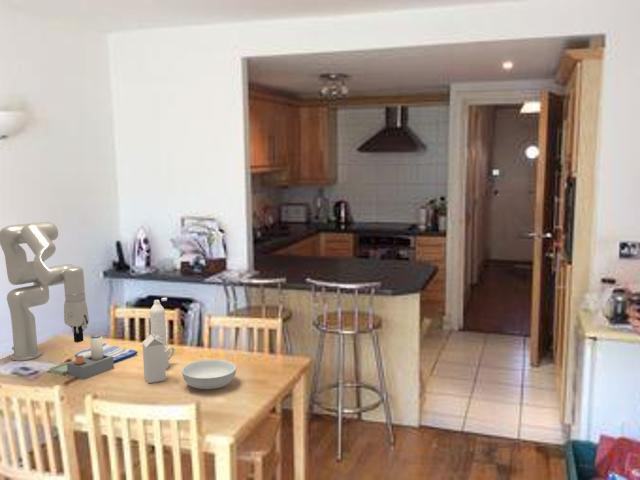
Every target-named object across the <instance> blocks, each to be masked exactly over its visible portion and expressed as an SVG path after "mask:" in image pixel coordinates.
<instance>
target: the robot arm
mask: <svg viewBox="0 0 640 480" xmlns="http://www.w3.org/2000/svg"><path fill="white" fill-rule="evenodd" d="M58 236H59V230H58V227H57V226H56V225H55V223H53V222H51V221H43V222H34V223H33V222H31V223H23V224H22V223H21V224H11V225H8V226H5V227H3V228H1V229H0V247H1V249H2V251H3V255H4V258H5V259H4V260H5V266H6V273H7V274H6V275H7V279H8V282H9V284H10V285H13V286H18V285H19V286H20V285H25V284H30V283H33V285H28V286H27V285H26V286H21V287H17V288H14V289H11V290H10V291H8V292H7V295H6V301H7V305H8V309H9V313H10V320H11V329H12V332H11V333H12V341H13V346H12V347H11V350H12V351H13V353H12V354H11V355H10V360H12V361H15V360H16V361H17V362H18V361H19V362H20V361H21V362H22V361H29V360H33V359H37V358H39V357H41V356H42V355H43V354H42V353H43V352H42V350H40V349H38V337H37V336H38V335H37V326H36V325H37V323H36V317H35V315H34V313H33V312H31V310H30V308H33V307H34V308H35V307H38V306H43V305H46V304H47V303H48V302H49V300H50V287H52V286H57V285H64V286H63V287H64V288H63V289H64V298H65V301H64V305H63V306H64V307H63V318H64V319H63V322H64V324H65V325H66V326H68V327H70V328H71V332H72V333H73V342H74V343H77V344H78V343H80V342H84V331H85V330H87V329H88V325H89V323H90V322H89V321H90V319H89V310H88V305H87V301H86V291H85V277H84V276H85V274H84V269H83V267H81V266H75V265H74V264H69V263H67V264H62V265H61V264H60V265H54V266H49V267H48V266H47V265H46V264H45V261H47V260H49V258H51V257H53V255H54V254H55V253H56V251H57V249H56V248H57V247H56V245H55V243H54V241H55V240H56V239H58ZM21 244H22V245H23V244H27V246H28V247H29V249H30V250H31V252H32V253H33V254H34V255H35V256H34V258H33V260H31V261H28V258H27V252H26V250H25V249H24V247H23V246H21Z"/></svg>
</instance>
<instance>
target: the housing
mask: <svg viewBox="0 0 640 480" xmlns="http://www.w3.org/2000/svg"><path fill="white" fill-rule="evenodd" d="M103 357H104V359H101V360H98V361H93V360H91V355H90V356H87V357H84V364H83V365H80V366H77V365H76V360H73V361H69V362H70V363H67V362H66V363H67V370H68V375H67V376H70V377H73V376H74V377H73V378H76V377H77V378H76V379H80V380H87V379H88V378H89V379H90V378H91V377H94V376H97V375H99V374H102V373H104V372H108V371H110V370H113V369H114V368H115V366H114V365H115V364H114V363H113V357H111V356H108V355H104V354H103Z"/></svg>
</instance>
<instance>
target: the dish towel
mask: <svg viewBox="0 0 640 480" xmlns="http://www.w3.org/2000/svg"><path fill="white" fill-rule="evenodd" d="M103 354H104V355H108V356H111V357H113V363H114V365H115V364H117V363H120V362H123V361H126V360H129V359H133V358H134V357H137V356H138V350H135V349H130V348H125V347H123V348H121V347H119V346H116V345H111V344H107V343H104V342H103ZM80 355H82V356H83V358H84V357H87V356H90V355H91V347H90V348H87V349H82V350H81V351H78V352H76V353H75V355H74V357H75V358H76V356H80Z"/></svg>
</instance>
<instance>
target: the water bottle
mask: <svg viewBox="0 0 640 480" xmlns="http://www.w3.org/2000/svg"><path fill="white" fill-rule="evenodd" d="M167 301H168V297H162V298H161V302H167ZM161 302H160V300H159V299H154V300H153V305H152V306H151V308H150V310H149V318H150V319H149V320H150V323H149V324H150V333H151V332H152V333H153V334H154V335H155V337H156V336H157V335H158V336H160V337H161V338H162V339H161V341H162V343H163V344H164V346H166V347H167V346H168V345H167V331H166V328H167V327H166V316H165V315H166V310H165V308H164V306H162V304H161Z"/></svg>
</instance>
